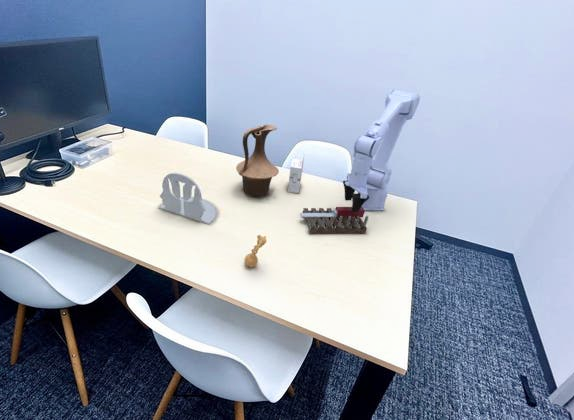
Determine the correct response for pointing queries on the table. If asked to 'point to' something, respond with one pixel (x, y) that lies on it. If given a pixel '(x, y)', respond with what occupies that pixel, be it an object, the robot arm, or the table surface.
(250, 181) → the pitcher
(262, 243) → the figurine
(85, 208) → the table surface
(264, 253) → the table surface
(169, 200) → the ornament
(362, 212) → the knife
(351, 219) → the drying rack
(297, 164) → the ink cartridge box
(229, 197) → the table surface
